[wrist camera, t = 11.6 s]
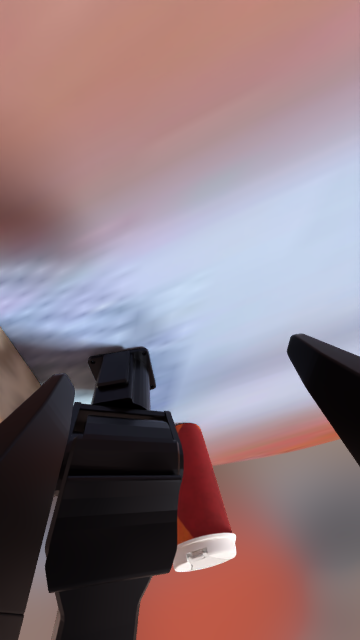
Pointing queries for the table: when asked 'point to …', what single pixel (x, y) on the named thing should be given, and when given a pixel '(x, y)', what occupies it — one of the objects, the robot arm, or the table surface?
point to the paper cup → (200, 509)
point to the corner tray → (13, 378)
